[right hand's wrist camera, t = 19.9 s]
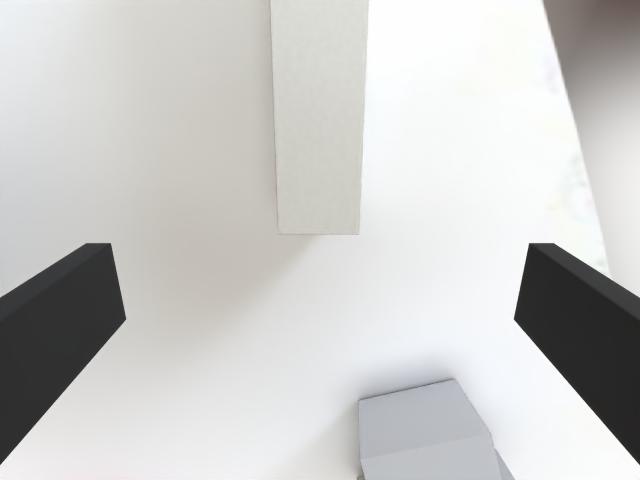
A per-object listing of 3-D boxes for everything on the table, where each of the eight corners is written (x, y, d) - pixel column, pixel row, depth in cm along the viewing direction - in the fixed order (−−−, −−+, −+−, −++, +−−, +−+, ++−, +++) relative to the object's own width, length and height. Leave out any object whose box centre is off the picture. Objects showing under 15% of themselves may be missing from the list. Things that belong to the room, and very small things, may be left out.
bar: (350, 205, 35) (359, 234, 28) (287, 204, 35) (278, 234, 28) (364, -206, 25) (383, -332, 18) (276, -207, 25) (258, -333, 18)
